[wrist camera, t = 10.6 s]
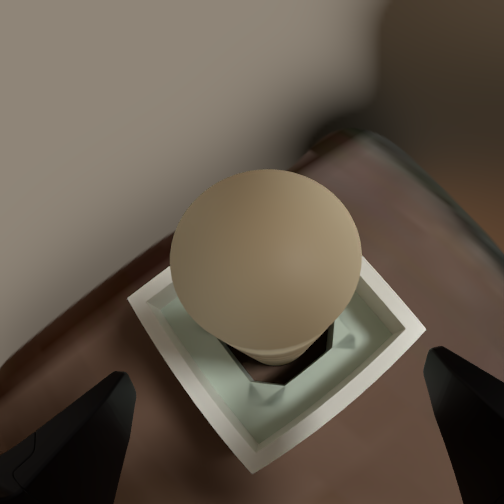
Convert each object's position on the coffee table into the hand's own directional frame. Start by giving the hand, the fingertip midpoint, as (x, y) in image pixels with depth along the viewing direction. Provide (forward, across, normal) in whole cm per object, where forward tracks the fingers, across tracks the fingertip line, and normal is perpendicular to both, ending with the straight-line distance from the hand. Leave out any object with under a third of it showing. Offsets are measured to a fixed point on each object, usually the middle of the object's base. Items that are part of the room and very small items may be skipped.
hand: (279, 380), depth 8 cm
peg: (+9, 0, +5) cm, 10 cm away
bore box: (+9, 0, +5) cm, 10 cm away
